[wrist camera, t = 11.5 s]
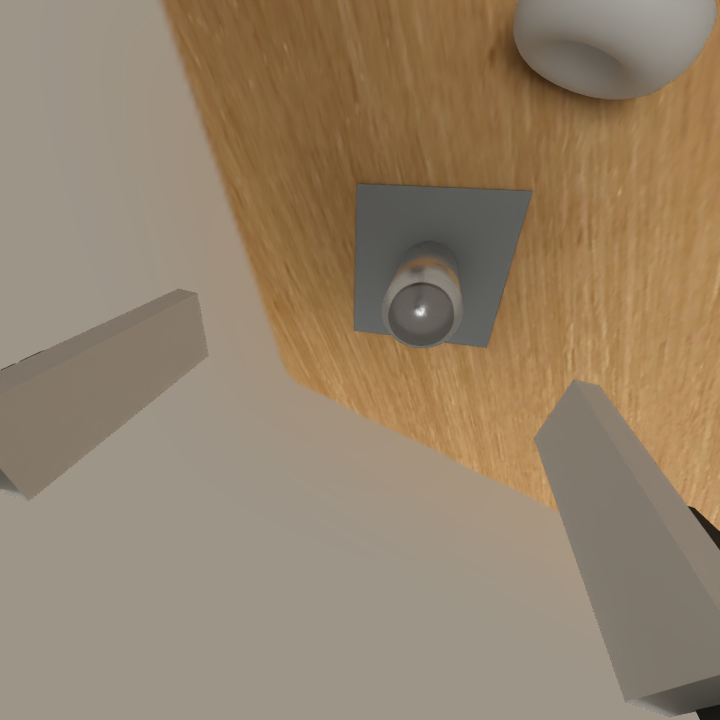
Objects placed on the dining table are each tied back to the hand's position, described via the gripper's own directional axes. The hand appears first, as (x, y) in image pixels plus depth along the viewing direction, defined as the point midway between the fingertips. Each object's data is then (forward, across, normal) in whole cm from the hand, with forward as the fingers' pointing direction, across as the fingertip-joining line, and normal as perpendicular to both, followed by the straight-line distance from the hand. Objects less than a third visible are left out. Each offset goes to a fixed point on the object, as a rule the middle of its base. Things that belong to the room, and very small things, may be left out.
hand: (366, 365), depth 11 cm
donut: (+23, +8, +14) cm, 28 cm away
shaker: (+22, +2, -2) cm, 22 cm away
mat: (+22, +2, -3) cm, 23 cm away
